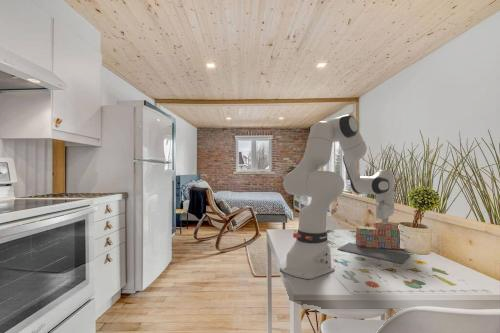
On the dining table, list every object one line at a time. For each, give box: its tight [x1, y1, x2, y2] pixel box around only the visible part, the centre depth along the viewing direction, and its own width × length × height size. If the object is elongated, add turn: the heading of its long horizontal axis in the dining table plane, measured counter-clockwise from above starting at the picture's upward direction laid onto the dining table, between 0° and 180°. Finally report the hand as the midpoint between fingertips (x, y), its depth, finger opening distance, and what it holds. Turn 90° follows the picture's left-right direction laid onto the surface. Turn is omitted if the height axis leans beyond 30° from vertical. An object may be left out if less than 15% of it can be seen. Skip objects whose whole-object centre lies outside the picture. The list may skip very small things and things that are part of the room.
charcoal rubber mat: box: [336, 242, 411, 265], centre depth 118 cm, size 15×28×1 cm, turn 47°
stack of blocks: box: [355, 221, 404, 250], centre depth 127 cm, size 21×6×12 cm, turn 84°
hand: (385, 225), depth 135 cm, fingers closed
